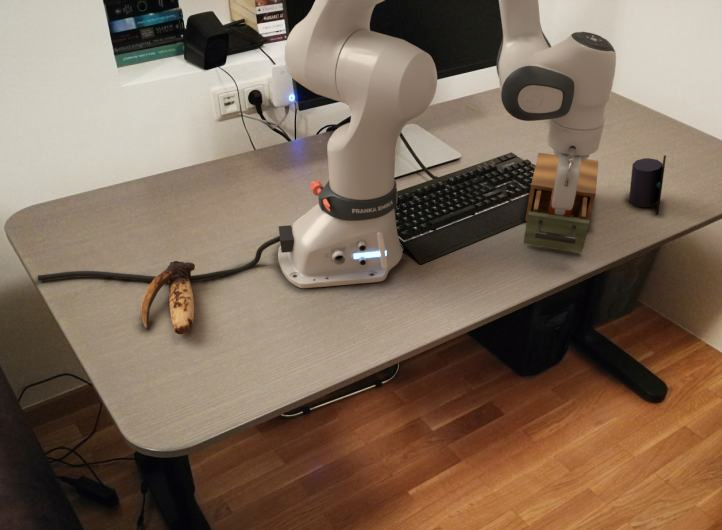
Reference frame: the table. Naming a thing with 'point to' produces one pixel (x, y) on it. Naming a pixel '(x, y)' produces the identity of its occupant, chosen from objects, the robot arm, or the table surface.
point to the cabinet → (547, 175)
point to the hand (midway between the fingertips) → (560, 205)
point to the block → (552, 210)
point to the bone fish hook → (173, 296)
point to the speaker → (646, 182)
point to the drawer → (557, 224)
